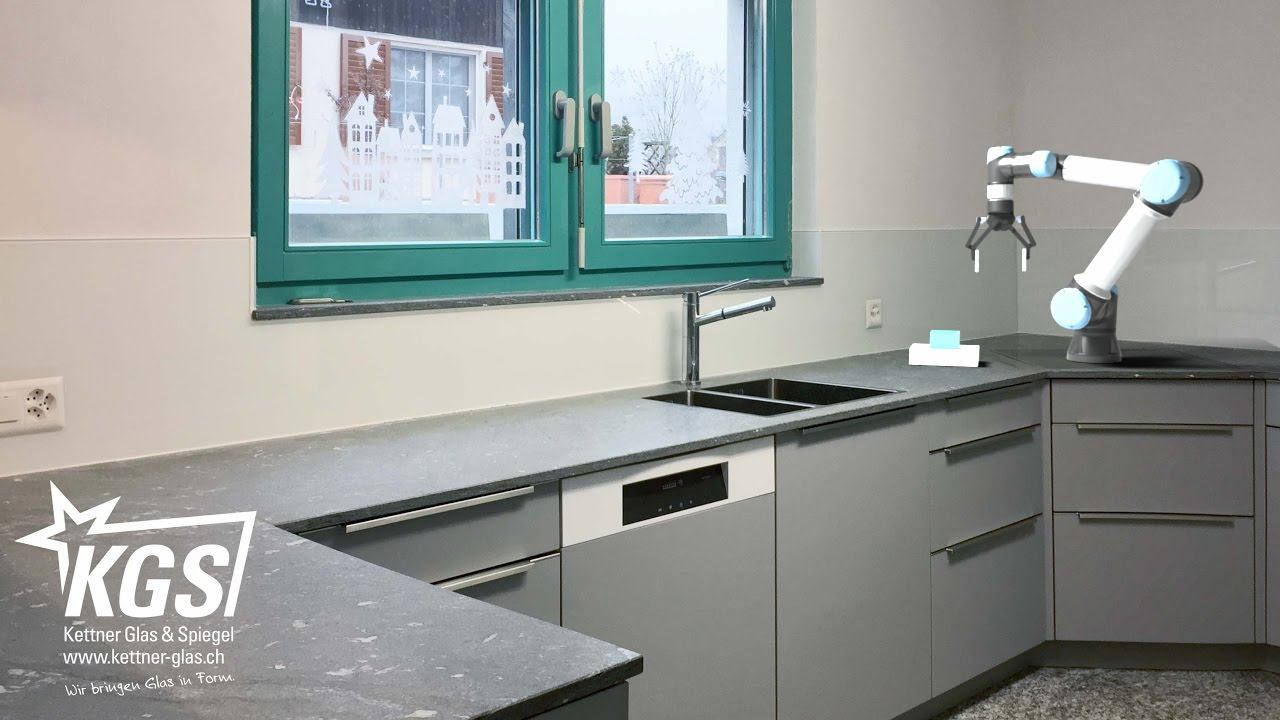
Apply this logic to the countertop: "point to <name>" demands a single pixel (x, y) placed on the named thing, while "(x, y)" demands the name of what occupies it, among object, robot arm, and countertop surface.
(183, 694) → the countertop surface
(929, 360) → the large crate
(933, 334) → the small crate
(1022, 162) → the robot arm
